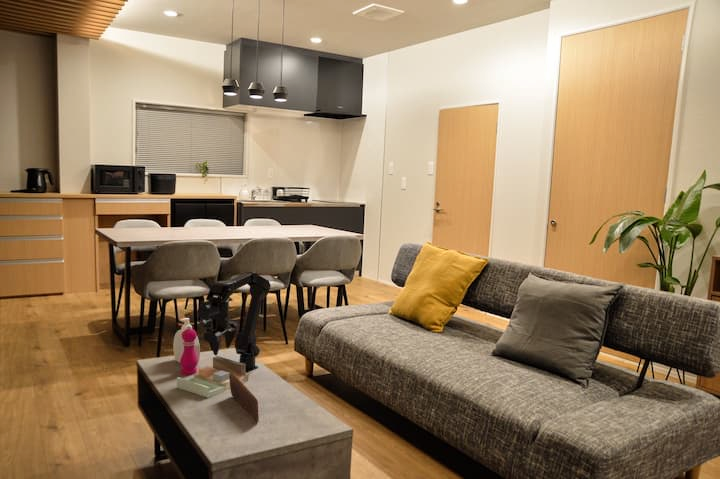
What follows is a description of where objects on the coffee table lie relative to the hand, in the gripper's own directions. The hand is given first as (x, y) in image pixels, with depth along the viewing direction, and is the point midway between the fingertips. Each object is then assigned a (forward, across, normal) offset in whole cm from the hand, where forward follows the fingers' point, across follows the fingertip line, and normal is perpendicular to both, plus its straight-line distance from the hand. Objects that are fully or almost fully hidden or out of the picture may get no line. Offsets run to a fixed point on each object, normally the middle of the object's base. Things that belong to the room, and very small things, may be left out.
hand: (221, 351), depth 220 cm
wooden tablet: (+12, +22, +22) cm, 33 cm away
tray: (+12, +12, -3) cm, 17 cm away
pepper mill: (+12, -3, -17) cm, 21 cm away
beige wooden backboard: (+12, +1, 0) cm, 12 cm away
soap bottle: (+13, -12, -25) cm, 31 cm away
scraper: (+9, -3, +2) cm, 10 cm away
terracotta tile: (+9, +4, -5) cm, 11 cm away
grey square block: (+9, +6, +3) cm, 11 cm away
